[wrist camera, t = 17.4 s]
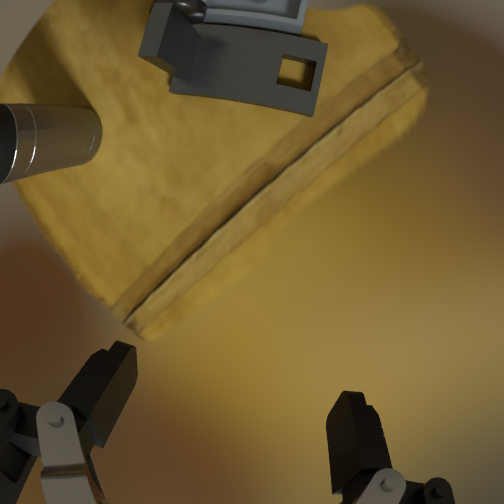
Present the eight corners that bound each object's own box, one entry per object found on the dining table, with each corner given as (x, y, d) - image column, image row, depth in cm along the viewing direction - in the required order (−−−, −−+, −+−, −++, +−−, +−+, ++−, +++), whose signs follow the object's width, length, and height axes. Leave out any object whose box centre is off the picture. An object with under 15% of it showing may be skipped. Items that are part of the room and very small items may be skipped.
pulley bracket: (163, 93, 33) (115, 75, 21) (180, 26, 30) (142, -13, 18) (311, 117, 33) (329, 103, 21) (326, 47, 30) (347, 6, 18)
